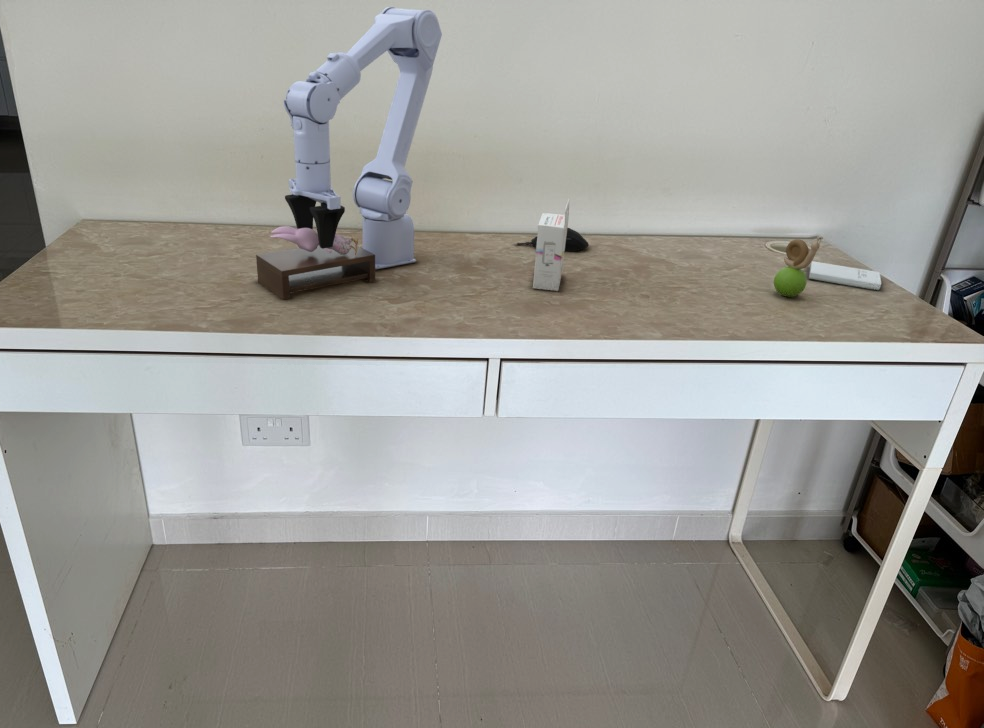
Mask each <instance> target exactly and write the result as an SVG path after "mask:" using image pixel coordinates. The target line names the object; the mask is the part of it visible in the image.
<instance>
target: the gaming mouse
mask: <svg viewBox="0 0 984 728" xmlns="http://www.w3.org/2000/svg"><path fill="white" fill-rule="evenodd" d="M522 245H525V246H531V245H532V246H533V247H535V248H536V246H537V235H536V236H535V237H534V238H532V239H531V240H530V241H525V242H517V246H522ZM589 245H590V244H589V242H588V241H587V240H586V239H585V238H584V237H583V236H582V235H581V234H580V233H579V232H578V231H577V230H574V229H572V228H570V227H567V235H566V243H565V251H564V252H577V251H582V250H583V249H586V248H588V247H589Z"/></svg>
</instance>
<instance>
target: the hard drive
mask: <svg viewBox="0 0 984 728" xmlns="http://www.w3.org/2000/svg"><path fill="white" fill-rule="evenodd" d="M809 265H810V267H809V273H808V280H813V281H820V282H826V283H832V284H837V285H843V286H849V287H855V288H862V289H868V290H875V291H880V290H881V286H882V279H881V272H880V271H875V270H868V269H862V268H856V267H851V266H846V265H845V266H844V265H838V264H833V263H832V264H831V263H827V262H819V261H814V260H812V262H811V263H810V264H809Z"/></svg>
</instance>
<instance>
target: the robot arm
mask: <svg viewBox="0 0 984 728" xmlns="http://www.w3.org/2000/svg"><path fill="white" fill-rule="evenodd" d="M442 33H443V32H442V29H441V26H440V23H439V20H438V17H437V15H436V13H435V12H434V11H432V10H431V9H410V8H409V9H408V8H396V7H395V6H387V7H385V8H383V10H382V11H381V12H380V13H379V14H377V15H375V17H374V20H373V25H372V26H370V28H369V29H368V30H367V31H366V32H365V33H364V34H363V35H362V36H361V38H359V40H358V41H356V43H355V44H354V45H353V46H352V47H351V48H350V49H349V50H348V51H347V52H346V53H345V52H342V51H338V52H330V53H329V54H328V55H327V56H326V59H327V60H326V61H325V62H323V64H322V65H320V66H319V67H318V68H317V69H316V70H315V71H311V72H309V74H308V77H307V78H306V79H305V80H298V81H295V82H294V83H292V84H291V86H289V88H288V90H287V91H286V95H285V99H283V107H284V109H285V112H286V113H287V115H288V116H289V119H290V126H291V127H292V129H293V148H294V149H293V150H294V166H295V178H289V179H288V190H289V192H290V193H289V194H286V195H284V199H285V201H286V202H287V205H288V206H289V209H290V211H291V213H292V216H293V219H294V221H295V225H296V229H301V228H310V229H313V230H314V224H315V227H316V233H317V234H318V241H319V245H320V248H322V249H323V248H329V247H333V243H334V238H335V234H337V229H338V226H339V223H340V221H341V219H342V217H343V215H344V214H345V211H346V208H345V206H343V205H341V196H340V195H338V194H337V193H336V191H335V190H334V188H333V187H332V181H331V180H332V179H331V178H332V177H331V145H330V144H331V142H330V120H332V119H334V117H335V116H336V112H337V109H338V105H339V104H341V100H342V99H343V98H344V97H346V95H348V94H349V93H350V92H351V91H352V90H353V89H354V88H355V87H356V86H357V85H359V83H360V82H361V78H362V77H361V75H362V73H361V72H362V71H364V69H365V68H367V67H368V66H370V65H371V64H372V63H373V62H375V61H376V60H377V59H379V58H380V57H381V56H382V55H383V54H385V53H386V52H387V53H388V54H389V56H390V57H391V59H392V60H393V61H392V62H394V63H395V64H396V65H397V67H398V69H399V76H398V79H397V83H396V86H395V90H394V93H393V97H392V100H391V105H390V107H389V110H388V114H387V118H386V122H385V125H384V127H383V132H382V136H381V139H380V142H379V146H378V149H377V153H376V156H375V158H374V159H372V160H371V161H370V162H368V163H366V164H365V165H364V166H363V167H362V170H361V174H360V176H359V177H358V178H357V180H356V181H355V183H354V185H353V190H352V198H353V202H354V204H355V206H356V207H357V208H359V214H361V222H362V223H361V224H362V225H361V227H362V230H361V231H362V235H361V237H362V248H363V249H365V250H367V251H369V252H371V253H373V254H375V270H381V269H386V268H391V267H397V266H402V265H408V264H413V263H416V262H417V259H416V258H415V226H414V225H415V224H414V221H413V219H412V217H411V216H410V214H408V213H407V212H408V210H409V208H410V205H411V196H412V195H411V190H412V186H413V179H412V178H411V175H410V174H409V172H408V171H407V169H406V168H405V167H406V163H407V159H408V156H409V153H410V149H411V147H412V142H413V139H414V136H415V132H416V129H417V126H418V122H419V118H420V115H421V111H422V109H423V105H424V101H425V98H426V94H427V91H428V88H429V84H430V81H431V77H432V74H433V69H434V63H435V61H436V56H437V53H438V50H439V46H440V44H441V40H442V36H443V34H442ZM317 203H320V205H317Z"/></svg>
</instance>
